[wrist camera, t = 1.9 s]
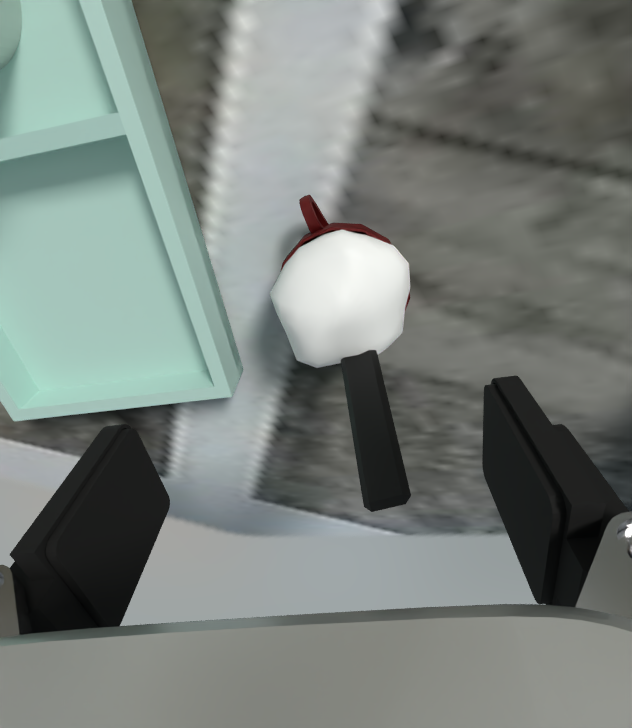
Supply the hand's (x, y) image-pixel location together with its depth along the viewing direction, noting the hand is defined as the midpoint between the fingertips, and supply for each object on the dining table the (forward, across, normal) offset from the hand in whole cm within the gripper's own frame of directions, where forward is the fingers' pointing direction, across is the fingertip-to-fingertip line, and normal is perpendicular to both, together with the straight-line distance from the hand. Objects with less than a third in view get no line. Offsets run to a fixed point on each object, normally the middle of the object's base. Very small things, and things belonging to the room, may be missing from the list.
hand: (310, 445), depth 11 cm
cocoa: (+14, -1, 0) cm, 14 cm away
